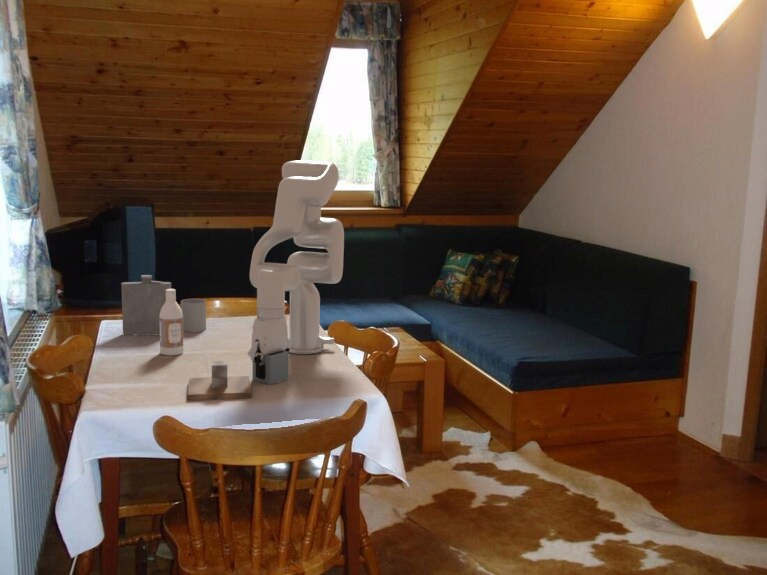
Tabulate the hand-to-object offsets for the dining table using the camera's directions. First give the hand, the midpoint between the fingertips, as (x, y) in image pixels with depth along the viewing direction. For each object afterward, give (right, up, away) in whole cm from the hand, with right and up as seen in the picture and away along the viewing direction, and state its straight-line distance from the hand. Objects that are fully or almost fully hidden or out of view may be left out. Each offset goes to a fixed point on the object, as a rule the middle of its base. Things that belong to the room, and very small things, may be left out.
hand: (270, 374), depth 213 cm
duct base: (-12, -3, -11) cm, 16 cm away
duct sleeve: (0, -1, 0) cm, 1 cm away
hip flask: (-48, +9, +45) cm, 66 cm away
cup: (-35, +10, +53) cm, 64 cm away
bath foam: (-34, +4, +23) cm, 41 cm away
